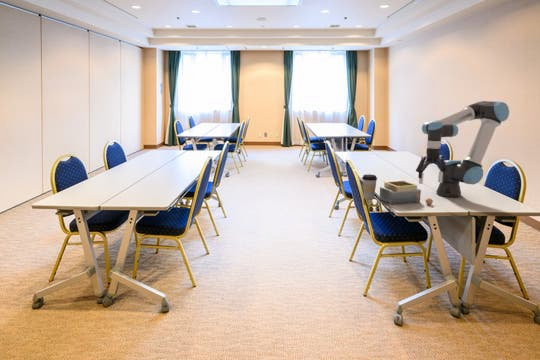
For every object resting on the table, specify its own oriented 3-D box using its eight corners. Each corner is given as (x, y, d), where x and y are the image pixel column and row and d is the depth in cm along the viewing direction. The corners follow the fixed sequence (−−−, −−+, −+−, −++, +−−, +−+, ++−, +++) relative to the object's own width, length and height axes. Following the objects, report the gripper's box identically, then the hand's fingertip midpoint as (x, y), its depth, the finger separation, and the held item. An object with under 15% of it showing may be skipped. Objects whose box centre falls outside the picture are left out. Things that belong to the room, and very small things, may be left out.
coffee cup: (373, 201, 271) (375, 177, 268) (359, 199, 276) (360, 176, 272) (377, 198, 279) (379, 175, 276) (363, 196, 284) (364, 173, 280)
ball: (429, 203, 267) (430, 197, 266) (433, 205, 263) (434, 198, 262) (424, 204, 265) (424, 197, 264) (428, 205, 262) (428, 199, 261)
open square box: (406, 196, 282) (407, 180, 280) (419, 202, 269) (421, 185, 267) (379, 199, 276) (380, 182, 274) (391, 204, 263) (392, 187, 261)
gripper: (446, 146, 264) (443, 180, 268) (411, 147, 256) (408, 182, 261) (455, 147, 257) (452, 183, 261) (419, 149, 249) (416, 185, 254)
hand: (430, 183), depth 261 cm, fingers open, 13 cm apart
